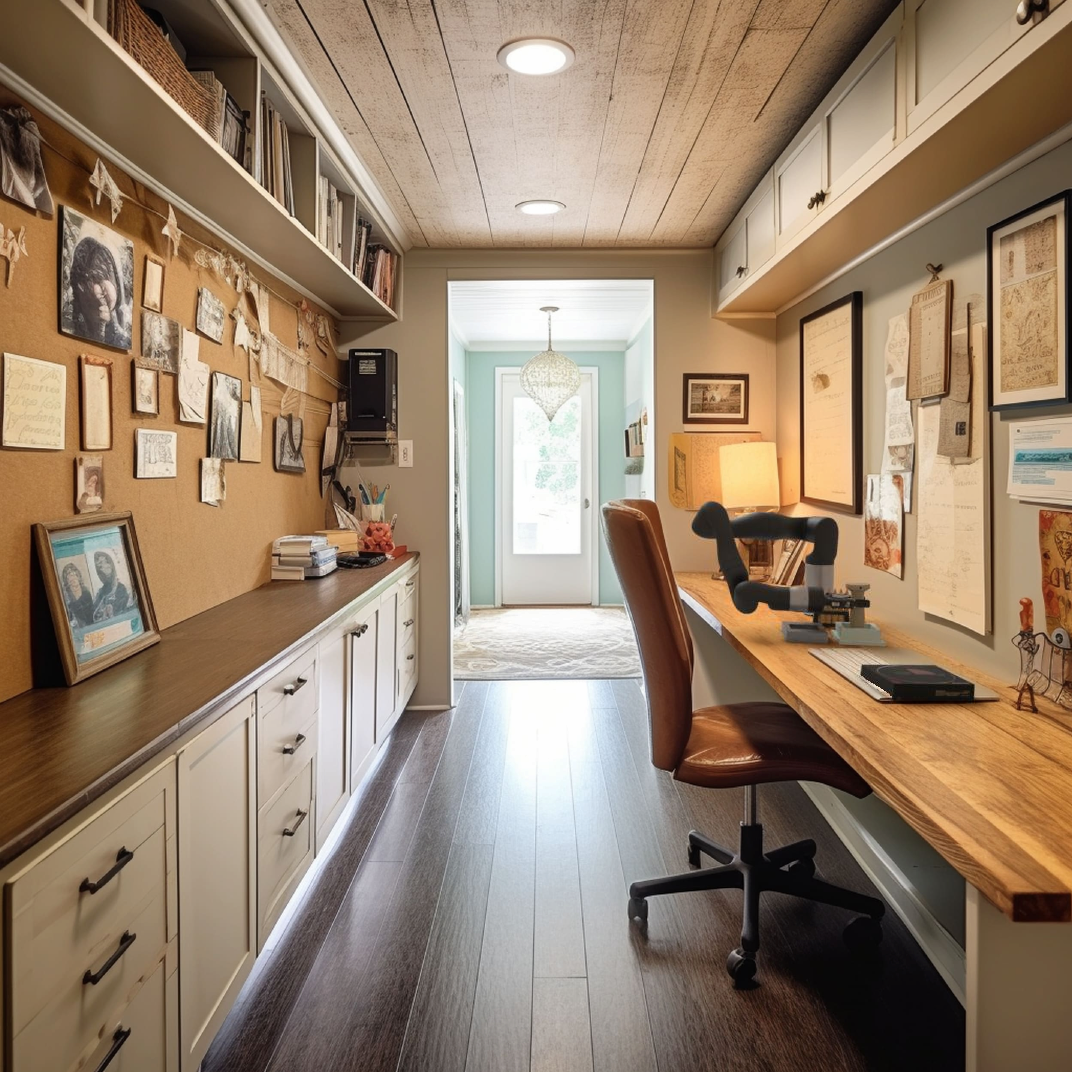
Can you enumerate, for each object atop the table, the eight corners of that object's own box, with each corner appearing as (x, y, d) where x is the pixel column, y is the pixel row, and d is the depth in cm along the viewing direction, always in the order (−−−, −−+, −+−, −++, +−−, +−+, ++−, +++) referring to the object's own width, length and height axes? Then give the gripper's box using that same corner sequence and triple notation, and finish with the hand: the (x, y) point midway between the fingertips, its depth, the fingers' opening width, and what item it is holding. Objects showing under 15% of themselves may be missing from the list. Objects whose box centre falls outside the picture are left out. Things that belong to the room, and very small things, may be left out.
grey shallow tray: (830, 633, 226) (831, 619, 226) (874, 635, 223) (874, 621, 223) (839, 644, 210) (839, 630, 210) (886, 646, 208) (886, 632, 207)
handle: (842, 634, 219) (843, 582, 218) (865, 634, 219) (866, 582, 218) (848, 637, 214) (849, 585, 213) (871, 637, 214) (872, 584, 213)
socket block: (781, 631, 229) (781, 621, 229) (820, 632, 227) (820, 622, 226) (786, 641, 214) (786, 631, 213) (827, 643, 211) (828, 633, 211)
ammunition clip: (848, 627, 236) (849, 588, 235) (849, 628, 234) (850, 589, 233) (812, 625, 238) (813, 587, 238) (812, 626, 237) (813, 588, 236)
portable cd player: (932, 681, 173) (933, 664, 173) (973, 703, 156) (974, 684, 156) (859, 681, 173) (860, 663, 173) (892, 702, 156) (893, 683, 156)
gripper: (808, 590, 212) (872, 592, 208) (803, 583, 226) (863, 585, 222) (808, 616, 213) (872, 619, 209) (802, 608, 226) (862, 610, 223)
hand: (867, 601), depth 215 cm, fingers open, 6 cm apart
